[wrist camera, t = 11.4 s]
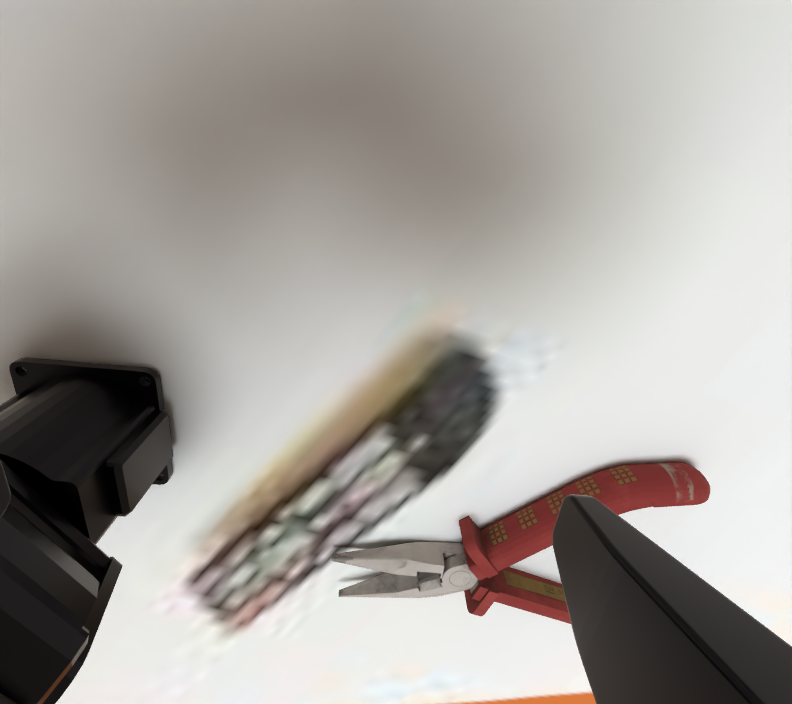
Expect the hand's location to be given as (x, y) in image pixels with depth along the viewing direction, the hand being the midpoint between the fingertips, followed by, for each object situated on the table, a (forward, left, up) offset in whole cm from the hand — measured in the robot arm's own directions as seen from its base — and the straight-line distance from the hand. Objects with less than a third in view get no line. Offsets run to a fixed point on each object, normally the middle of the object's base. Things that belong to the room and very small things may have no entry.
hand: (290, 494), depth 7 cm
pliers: (+11, -13, -14) cm, 22 cm away
